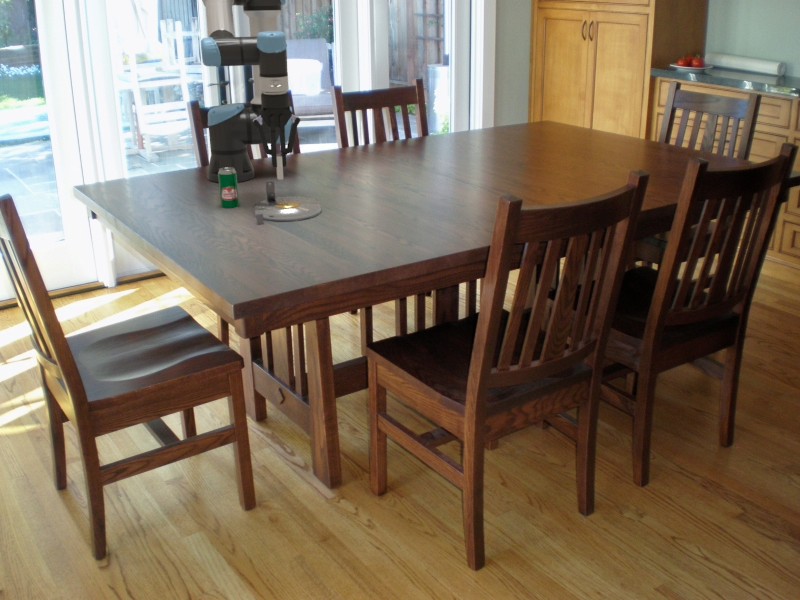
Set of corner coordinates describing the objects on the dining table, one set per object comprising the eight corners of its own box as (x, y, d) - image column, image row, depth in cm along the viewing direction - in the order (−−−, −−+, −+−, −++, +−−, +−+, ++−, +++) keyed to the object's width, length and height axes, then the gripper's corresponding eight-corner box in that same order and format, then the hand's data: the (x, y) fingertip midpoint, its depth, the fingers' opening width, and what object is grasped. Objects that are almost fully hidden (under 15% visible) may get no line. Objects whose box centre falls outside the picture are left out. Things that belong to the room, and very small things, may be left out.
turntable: (242, 216, 223) (239, 191, 220) (278, 200, 238) (276, 176, 235) (299, 224, 216) (297, 198, 213) (332, 207, 231) (331, 182, 228)
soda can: (222, 213, 231) (218, 171, 226) (220, 209, 235) (217, 167, 231) (240, 212, 232) (236, 170, 228) (238, 207, 237) (235, 166, 232)
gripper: (251, 95, 216) (257, 183, 225) (301, 93, 219) (305, 180, 228) (249, 91, 222) (255, 176, 232) (297, 89, 225) (301, 173, 235)
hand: (280, 178), depth 230 cm, fingers closed
